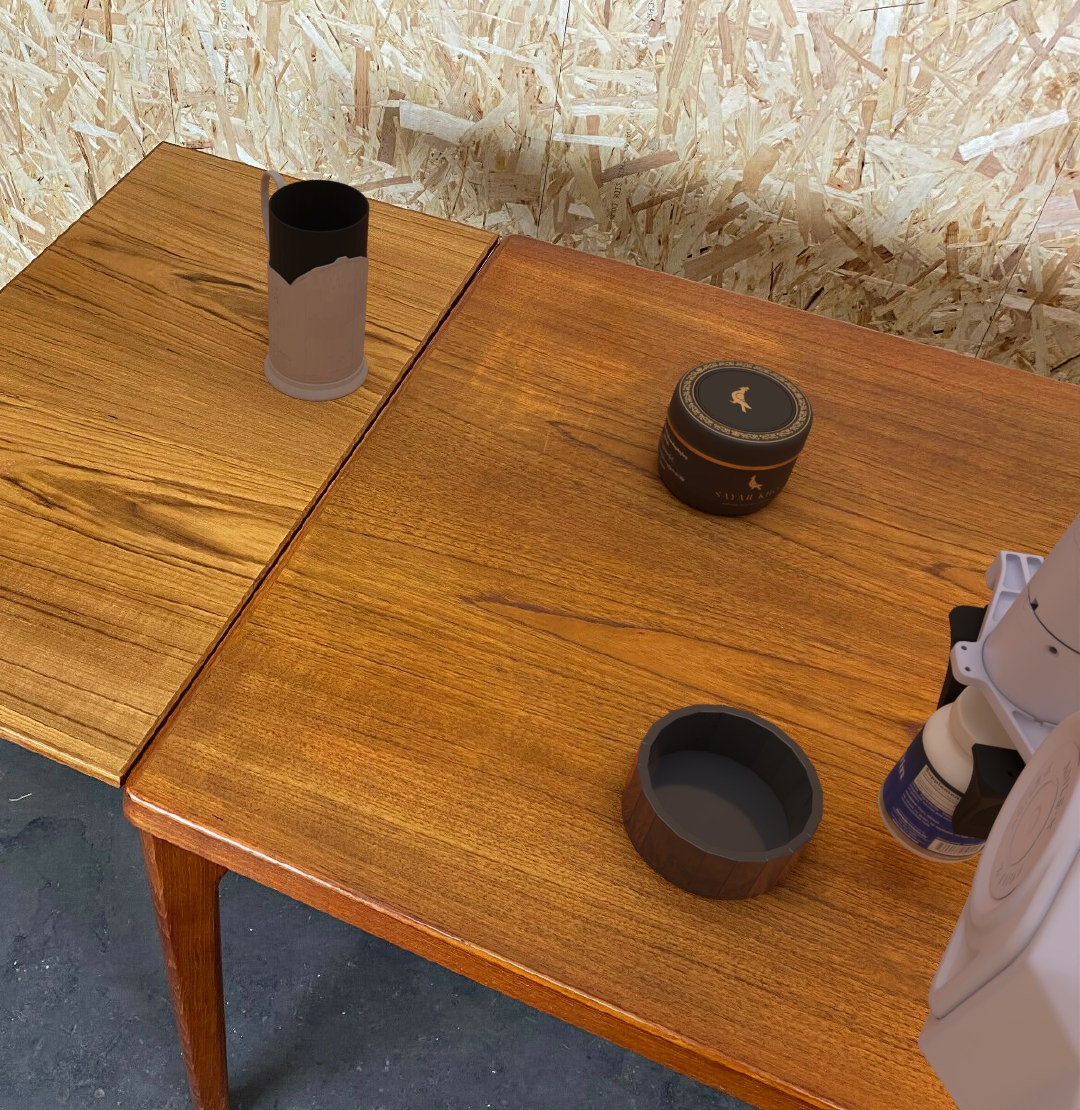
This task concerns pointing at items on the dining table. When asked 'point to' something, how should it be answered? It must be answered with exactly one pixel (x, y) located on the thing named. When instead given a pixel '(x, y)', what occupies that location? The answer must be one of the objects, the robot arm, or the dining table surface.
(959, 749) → the pill bottle
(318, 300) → the glass holder
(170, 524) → the dining table surface
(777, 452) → the jar
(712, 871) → the bowl
